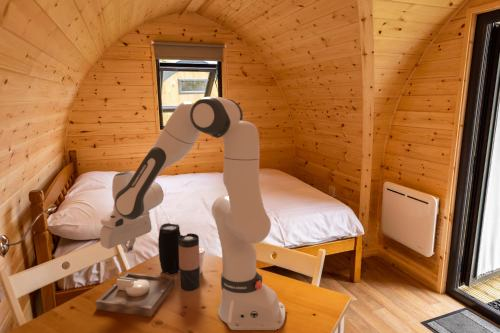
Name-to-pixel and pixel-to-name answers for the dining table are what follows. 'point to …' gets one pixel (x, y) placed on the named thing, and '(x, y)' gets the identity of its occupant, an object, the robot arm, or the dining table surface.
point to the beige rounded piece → (133, 286)
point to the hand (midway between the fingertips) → (128, 251)
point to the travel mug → (189, 262)
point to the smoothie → (201, 257)
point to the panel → (137, 305)
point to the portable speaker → (169, 248)
